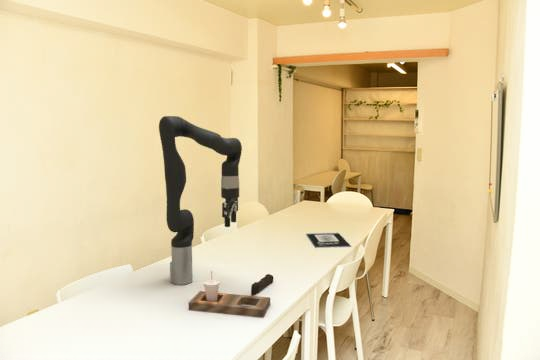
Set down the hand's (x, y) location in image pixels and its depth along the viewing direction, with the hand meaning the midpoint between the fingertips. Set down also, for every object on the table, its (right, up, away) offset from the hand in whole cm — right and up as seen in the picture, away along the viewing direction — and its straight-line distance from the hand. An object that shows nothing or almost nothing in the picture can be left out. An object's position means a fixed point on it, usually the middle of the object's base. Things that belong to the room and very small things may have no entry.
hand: (230, 224), depth 187 cm
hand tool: (+13, -30, +9) cm, 34 cm away
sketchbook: (+52, -20, +88) cm, 104 cm away
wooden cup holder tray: (+1, -32, -10) cm, 33 cm away
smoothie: (-7, -32, -9) cm, 34 cm away
